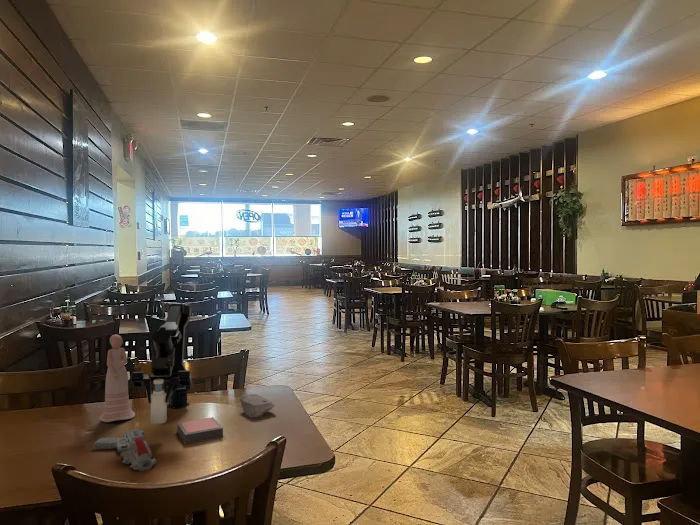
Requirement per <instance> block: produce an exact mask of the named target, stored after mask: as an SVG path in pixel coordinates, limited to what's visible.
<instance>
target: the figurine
mask: <svg viewBox="0 0 700 525" xmlns="http://www.w3.org/2000/svg"><path fill="white" fill-rule="evenodd" d="M123 343H124V340H123V337H122V336H121V335H119V334H112V335H111V336H110V337H109V344H110V345H111V348H110V349H109V350H108V351H107V357H106V367H107V369H106V370H107V371H106V376H105V384H104V385H105V387H104V388H105V390H104V410H103V412H102V414H101V415H100V417H99V421H101V422H103V423H111V422H115V421H116V422H117V421H125V420H129V419H130V420H131V419H133V418H135V417H136V413H135V412H134V411H133V410H132V409H131V406H130V400H129V377H128V371H127V369H126V366H125V365H126V364H128V358H127V357H128V356H127V354H126V349H125V348H123V347H122V345H123Z"/></svg>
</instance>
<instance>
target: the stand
mask: <svg viewBox="0 0 700 525" xmlns="http://www.w3.org/2000/svg"><path fill="white" fill-rule="evenodd" d="M176 431H177V434H178V435H179V437H180V439H181V440H182V441H183V443H184V444H185V445H187V444H192V443H200V442H205V441H210V440H215V439H220V438H224V428H223V427H222V425H221V424H220V423H219V422H218V421H217V420H216V419H215V418H214V417H206V418H202V419H201V418H200V419H193V420H189V421H188V420H187V421H181V422H177V423H176Z"/></svg>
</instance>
